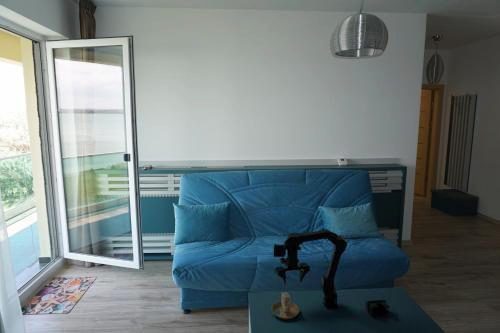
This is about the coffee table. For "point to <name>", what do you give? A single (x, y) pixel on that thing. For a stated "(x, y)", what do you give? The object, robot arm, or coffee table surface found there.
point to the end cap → (377, 308)
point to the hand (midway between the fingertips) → (292, 283)
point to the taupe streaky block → (285, 301)
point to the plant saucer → (286, 315)
